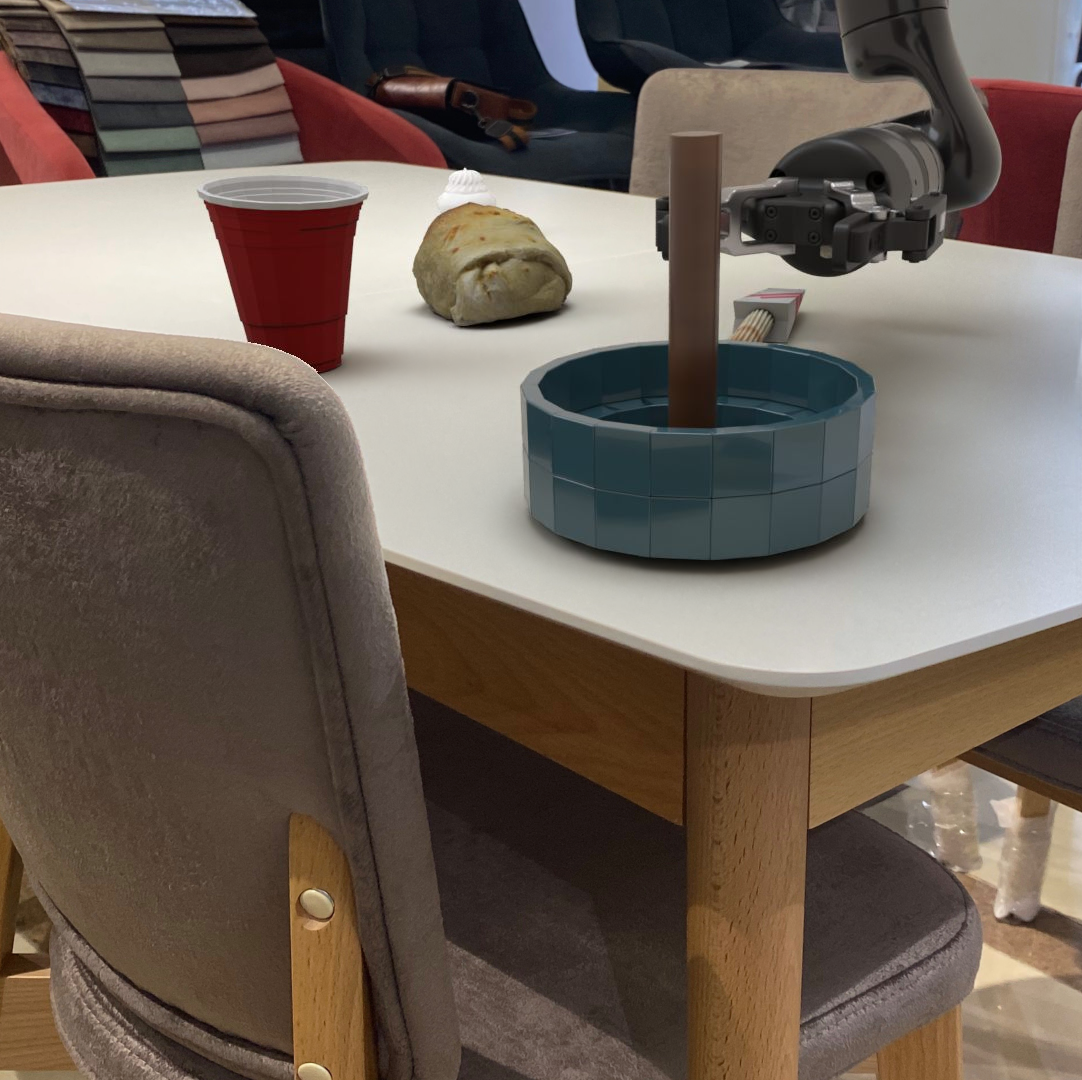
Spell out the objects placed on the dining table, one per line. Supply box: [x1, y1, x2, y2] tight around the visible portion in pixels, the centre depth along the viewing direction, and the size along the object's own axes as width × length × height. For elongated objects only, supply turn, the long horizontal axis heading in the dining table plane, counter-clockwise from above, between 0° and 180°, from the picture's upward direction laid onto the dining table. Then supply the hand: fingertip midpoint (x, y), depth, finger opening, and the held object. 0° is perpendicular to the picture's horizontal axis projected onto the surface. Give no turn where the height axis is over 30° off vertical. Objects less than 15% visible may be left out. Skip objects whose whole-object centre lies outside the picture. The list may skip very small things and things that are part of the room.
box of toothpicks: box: [728, 287, 807, 344], centre depth 89 cm, size 4×3×20 cm
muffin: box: [436, 167, 498, 214], centre depth 133 cm, size 6×6×7 cm
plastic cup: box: [196, 174, 370, 373], centre depth 85 cm, size 11×11×12 cm
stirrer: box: [667, 130, 724, 429], centre depth 57 cm, size 4×4×16 cm
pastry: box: [411, 202, 574, 327], centre depth 100 cm, size 14×12×8 cm
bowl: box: [519, 339, 878, 561], centre depth 59 cm, size 16×16×6 cm
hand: (751, 244), depth 61 cm, fingers open, 8 cm apart
